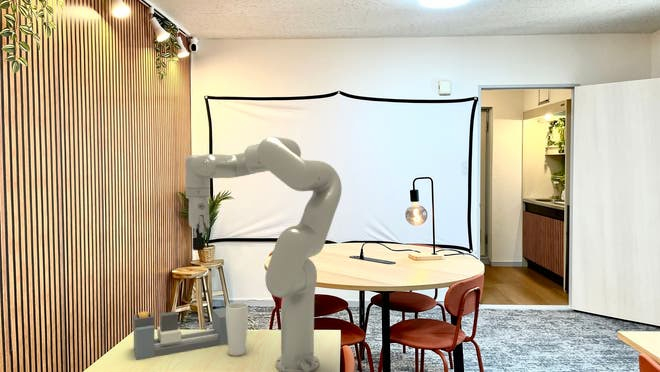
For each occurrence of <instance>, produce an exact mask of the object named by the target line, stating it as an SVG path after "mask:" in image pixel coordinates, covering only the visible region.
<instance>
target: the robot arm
mask: <svg viewBox="0 0 660 372" xmlns="http://www.w3.org/2000/svg"><path fill="white" fill-rule="evenodd" d="M265 172H270V173H271V174H273V175H274V176H275V177H276V178H277V179H278V180H279V181H280V182H283V184H285V185H286V186H287V187H289V188H290V189H292V190H294V191H297V192H311V191H312V193H311V196H310V198H309V200H308V201H307V203H306V205H305V207H304V209H303V213H302V216H301V219H300V221H299V223H298V224H296V225H292V226H290V227H287V228H285V229H284V230H283V231H282V232H281V233H280V234H279V236H278V238H277V240H276V243H275V245H274V247H273V251H272V254H271V257H270V260H269V262H268V265H267V268H266V272H265V286H266V289H267V291H268V292H269V293H270V294H271V295H272V296H274V297H275V298H280V299H281V304H280V305H281V306H280V307H281V308H280V310H281V311H280V341H281V342H280V355H281V356H279V357H278V358H276V361H275V367H276V368H277V370H278V371H280V372H314V371H315V370H317V369H318V368H319V366H320V360H319V358H318V357H317V356H316V355H315V329H314V328H315V293H316V288H317V287H316V286H317V280H318V278H317V277H318V273H317V272H318V271H317V267H316V265H315V263H314V262H313V261H312V260H311V259H310V258H312V257H314V256H317V255H319V254H320V253H321V252H322V250H323V248H324V245H325V243H326V239H327V237H328V234H329V231H330V228H331V225H332V223H333V219H334V216H335V214H336V211H337V209H338V206H339V202H340V200H341V196H342V189H343V188H342V182H341V181H342V180H341V177H340V176H339V173H338V172H337V170H336V169H335V168H334V167H333V166H332V165H330V164H328V163H327V162H324V161H321V160H310V159H309V160H307V159H303V158H302V152H301V147H300V145H299V144H298V143H297V142H295V141H294V140H293V139H290V138H284V137H277V136H269V137H266V138H265V139H263V140H262V141H261V142H260V143H256V144H251V145H248V146H247V147H246V149H245V150H244V152H242V153H236V154H217V153H216V154H213V153H210V154H204V155H198V154H197V155H196V154H195V155H187V157H186V158H185V198H186V199H188V226H189V227H190V228H192V250H193V251H204V250H205V249H204V246H205V245H204V243H205V241H204V239H205V238H204V230H205V229H206V230H207V229H210V227H211V225H210V206H209V205H210V204H209V199H210V198H211V179H231V178H232V179H233V178H238V177H246V176H249V175H255V174H259V173H265ZM204 228H205V229H204Z"/></svg>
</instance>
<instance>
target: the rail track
mask: <svg viewBox="0 0 660 372" xmlns="http://www.w3.org/2000/svg"><path fill="white" fill-rule="evenodd" d="M211 312H212V313H211V314H212V316H211V317H212V318H211V319H212V321H211V322H212V323H211V325H212V328H211V329H208V330H207V329H206V330H200V331H194V332H188V333H187V332H186V333H181V341H178V342H172V343H166V344H161V343H160V341H159V338H158V337H156V338H155V317H154V314H153V312H152V311H151V312H149V317H145V318H139V313H137V314H136V313H135V314H133V351H134V354H135V359H136V361H139V360H143V359H149V358H154V357H160V356H161V357H162V356H167V355H171V354H177V353H178V354H179V353H182V352H188V351H195V350H199V349H206V348H211V347H216V346H224V345H228V339H227V328H226V307H222V308H221V307H220V308H215V309H214V308H213V309H212V311H211Z"/></svg>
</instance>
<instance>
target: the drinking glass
mask: <svg viewBox="0 0 660 372" xmlns="http://www.w3.org/2000/svg"><path fill="white" fill-rule="evenodd" d="M248 306H249V305H248V303H246V302H231V303H228V304H226V306H225V308H226V328H227V339H228V344H227V352H228V354H229V355H230V356H232V357H236V356H237V357H238V356H242V355H244V354H246V350H247V349H246V348H247V347H246V346H247V334H248V333H247V332H248V322H249V321H248V319H249V309H248V308H249V307H248Z"/></svg>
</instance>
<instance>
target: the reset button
mask: <svg viewBox="0 0 660 372" xmlns="http://www.w3.org/2000/svg"><path fill="white" fill-rule="evenodd" d="M149 313H150V312H149V311H144V310H143V311H140V312H138V314H139V318H145V317H149Z"/></svg>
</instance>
